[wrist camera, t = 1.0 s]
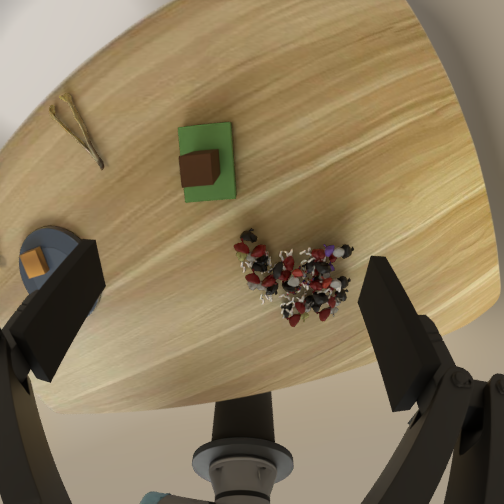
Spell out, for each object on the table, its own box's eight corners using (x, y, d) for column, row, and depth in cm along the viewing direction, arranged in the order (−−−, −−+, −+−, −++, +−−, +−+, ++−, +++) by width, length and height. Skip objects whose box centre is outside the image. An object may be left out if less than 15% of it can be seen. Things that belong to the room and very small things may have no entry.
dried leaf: (108, 164, 35) (114, 162, 37) (62, 88, 31) (69, 90, 33) (85, 183, 36) (92, 181, 38) (41, 109, 32) (48, 110, 34)
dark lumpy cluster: (350, 216, 39) (357, 228, 35) (349, 310, 45) (354, 329, 41) (235, 225, 42) (229, 237, 37) (248, 316, 47) (244, 335, 43)
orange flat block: (49, 269, 41) (45, 274, 40) (33, 274, 42) (28, 278, 40) (40, 246, 40) (34, 249, 39) (24, 252, 40) (19, 255, 39)
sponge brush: (236, 194, 39) (232, 215, 30) (189, 198, 39) (170, 220, 30) (231, 122, 36) (224, 119, 26) (182, 127, 36) (159, 126, 27)
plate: (113, 318, 46) (110, 322, 45) (39, 316, 46) (36, 320, 45) (88, 220, 40) (84, 223, 39) (12, 231, 40) (8, 233, 39)
